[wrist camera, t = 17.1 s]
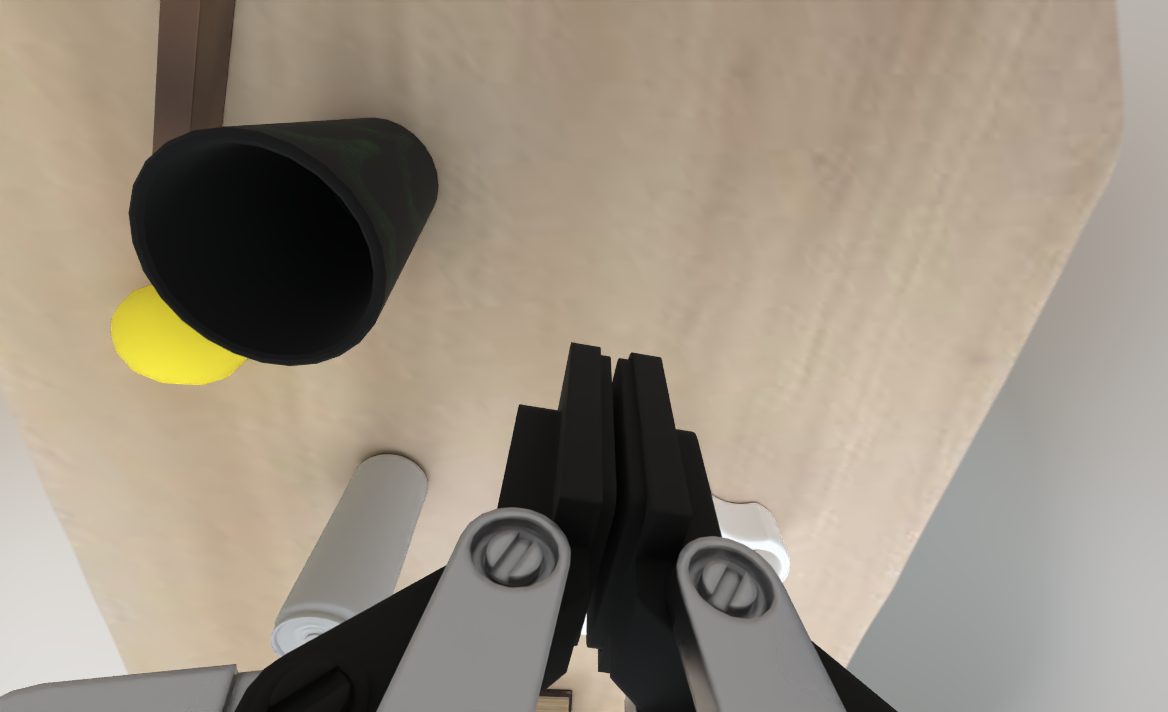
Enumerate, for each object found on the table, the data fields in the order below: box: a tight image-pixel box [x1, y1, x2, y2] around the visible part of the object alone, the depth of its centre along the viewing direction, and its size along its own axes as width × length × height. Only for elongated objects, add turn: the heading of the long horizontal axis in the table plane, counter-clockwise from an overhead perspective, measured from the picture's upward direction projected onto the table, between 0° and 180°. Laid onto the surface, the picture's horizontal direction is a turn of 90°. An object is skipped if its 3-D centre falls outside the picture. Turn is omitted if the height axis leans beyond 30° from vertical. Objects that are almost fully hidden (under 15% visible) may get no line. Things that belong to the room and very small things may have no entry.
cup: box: [129, 118, 438, 366], centre depth 23 cm, size 8×8×12 cm
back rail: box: [153, 0, 235, 154], centre depth 25 cm, size 12×2×2 cm, turn 157°
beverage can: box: [271, 454, 428, 658], centre depth 32 cm, size 5×5×12 cm
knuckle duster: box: [581, 494, 790, 635], centre depth 39 cm, size 3×18×15 cm
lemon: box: [111, 285, 248, 385], centre depth 29 cm, size 7×5×5 cm
